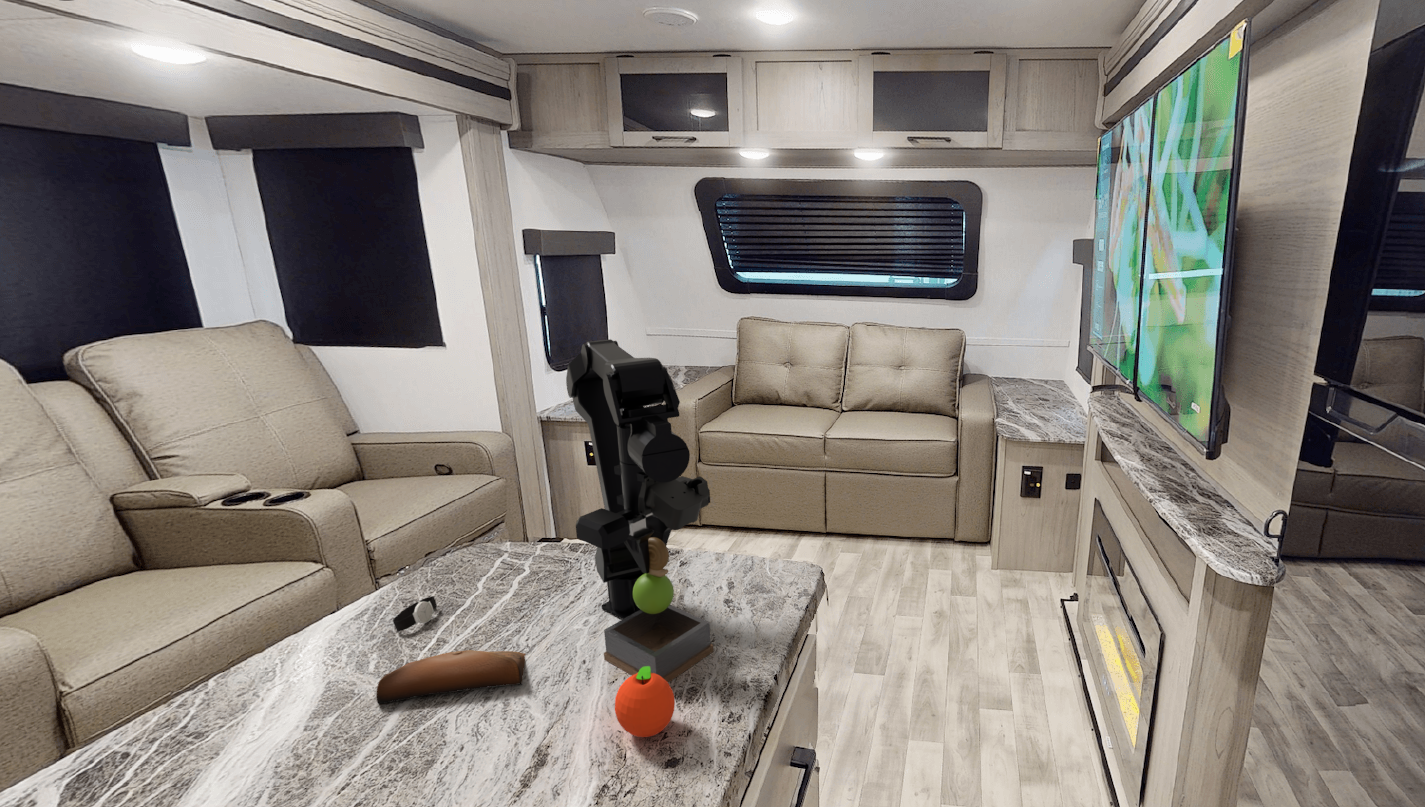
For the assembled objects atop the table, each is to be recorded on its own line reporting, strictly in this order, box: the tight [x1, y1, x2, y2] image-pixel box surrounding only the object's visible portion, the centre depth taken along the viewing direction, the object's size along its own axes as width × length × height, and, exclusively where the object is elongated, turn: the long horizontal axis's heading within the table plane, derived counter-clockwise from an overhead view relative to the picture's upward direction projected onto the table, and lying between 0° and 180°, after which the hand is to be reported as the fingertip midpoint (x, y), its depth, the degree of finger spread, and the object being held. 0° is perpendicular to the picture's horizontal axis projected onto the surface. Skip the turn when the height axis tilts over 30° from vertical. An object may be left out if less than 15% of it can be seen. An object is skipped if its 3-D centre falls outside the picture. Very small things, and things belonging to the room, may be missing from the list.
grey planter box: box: [603, 604, 715, 684], centre depth 94 cm, size 11×11×4 cm
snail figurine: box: [633, 537, 675, 614], centre depth 91 cm, size 5×6×12 cm
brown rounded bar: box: [376, 649, 526, 704], centre depth 92 cm, size 18×7×7 cm
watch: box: [392, 595, 438, 632], centre depth 107 cm, size 8×5×4 cm, turn 162°
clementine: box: [614, 666, 676, 738], centre depth 80 cm, size 8×7×7 cm
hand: (651, 569), depth 92 cm, fingers closed on snail figurine
